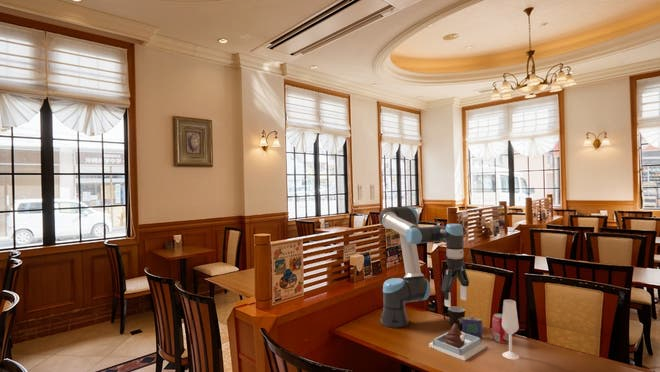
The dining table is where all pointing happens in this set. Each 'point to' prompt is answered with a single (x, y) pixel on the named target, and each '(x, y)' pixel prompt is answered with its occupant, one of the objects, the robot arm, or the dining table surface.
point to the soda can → (498, 329)
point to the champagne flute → (510, 325)
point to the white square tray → (463, 353)
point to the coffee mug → (456, 316)
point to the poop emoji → (455, 337)
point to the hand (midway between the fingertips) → (455, 303)
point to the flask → (472, 326)
